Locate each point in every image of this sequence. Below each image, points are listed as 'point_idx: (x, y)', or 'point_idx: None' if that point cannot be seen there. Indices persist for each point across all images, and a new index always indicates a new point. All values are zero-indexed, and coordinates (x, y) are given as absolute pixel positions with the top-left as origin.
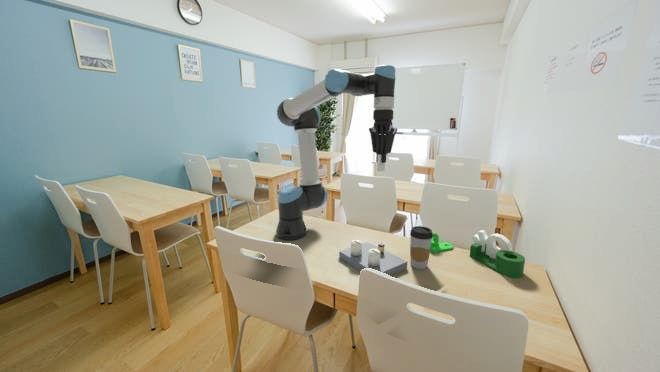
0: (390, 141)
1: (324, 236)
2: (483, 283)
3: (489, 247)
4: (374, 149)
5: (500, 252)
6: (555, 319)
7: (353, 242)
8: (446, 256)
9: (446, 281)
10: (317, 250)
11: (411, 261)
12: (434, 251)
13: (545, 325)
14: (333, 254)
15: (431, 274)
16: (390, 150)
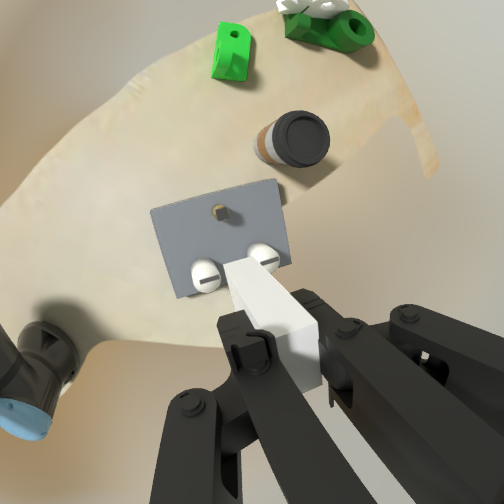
0: None
1: (60, 285)
2: (352, 99)
3: (312, 8)
4: (235, 462)
5: (344, 24)
6: (414, 109)
7: (206, 287)
8: (261, 65)
9: (330, 145)
10: (129, 322)
11: (268, 162)
12: (246, 78)
13: (416, 129)
14: (157, 298)
15: None
16: (434, 323)
